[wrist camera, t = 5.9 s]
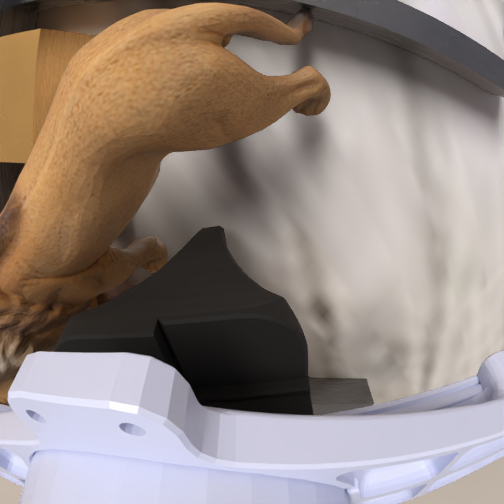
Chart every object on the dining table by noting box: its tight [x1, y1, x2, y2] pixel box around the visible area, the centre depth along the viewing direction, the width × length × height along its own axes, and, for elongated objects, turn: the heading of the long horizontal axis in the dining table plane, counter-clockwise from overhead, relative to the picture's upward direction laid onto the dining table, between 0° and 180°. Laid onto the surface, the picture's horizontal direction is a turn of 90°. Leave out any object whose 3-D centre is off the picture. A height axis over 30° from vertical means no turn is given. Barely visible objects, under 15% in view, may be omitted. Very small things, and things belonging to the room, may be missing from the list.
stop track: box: [0, 0, 504, 415], centre depth 12 cm, size 21×20×4 cm
